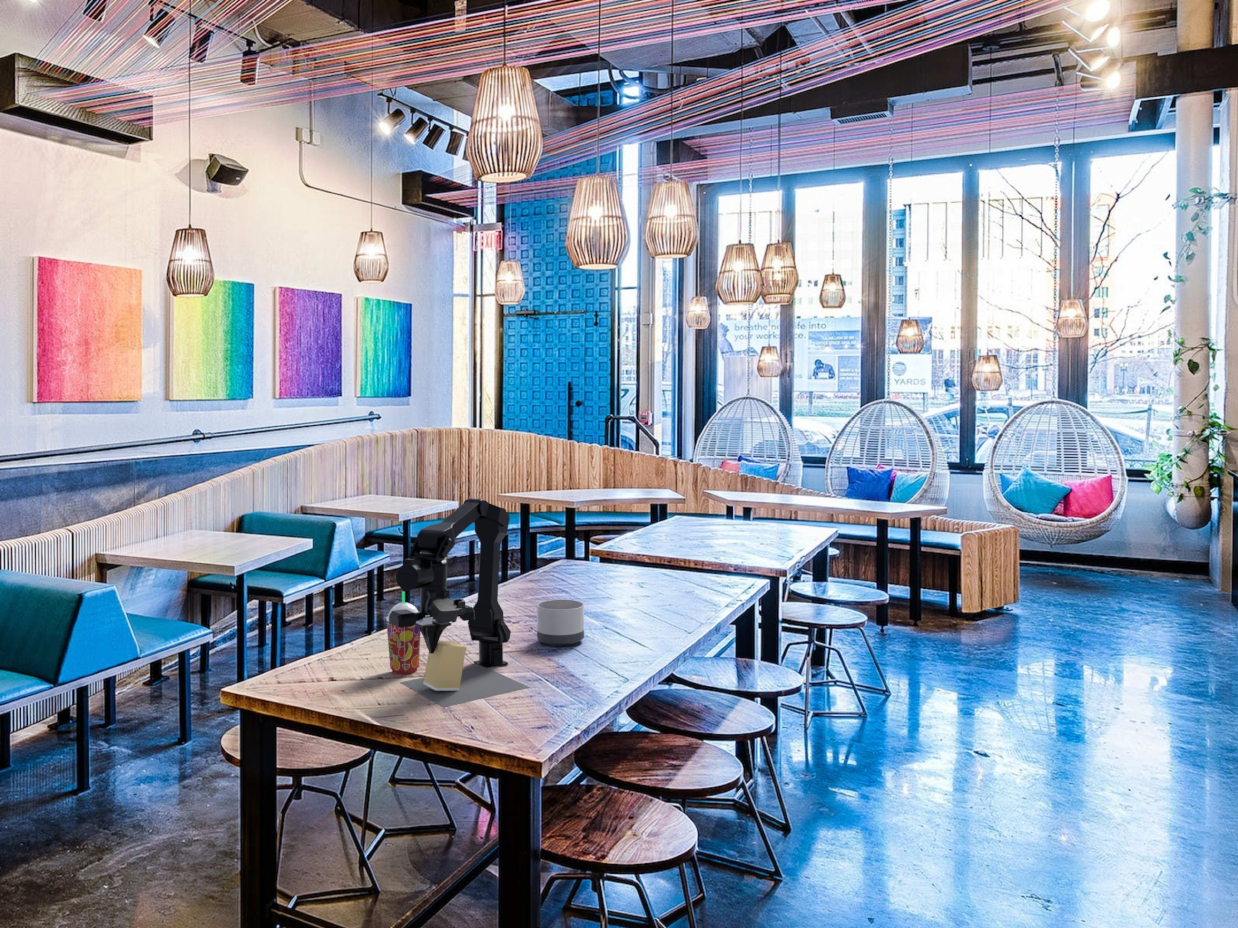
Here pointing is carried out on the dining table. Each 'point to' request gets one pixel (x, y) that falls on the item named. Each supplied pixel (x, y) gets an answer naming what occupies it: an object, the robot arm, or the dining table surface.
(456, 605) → the robot arm
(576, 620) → the planter
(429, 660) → the pale yellow block
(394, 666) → the smoothie
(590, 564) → the dining table surface
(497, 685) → the charcoal mat
